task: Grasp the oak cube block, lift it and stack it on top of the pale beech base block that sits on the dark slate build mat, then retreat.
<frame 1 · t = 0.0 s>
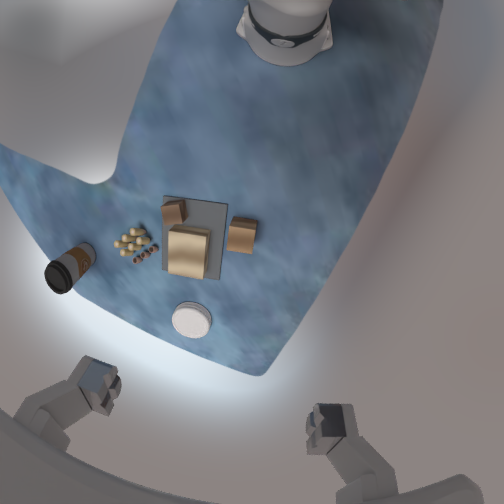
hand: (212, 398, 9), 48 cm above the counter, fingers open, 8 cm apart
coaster: (193, 315, 69), on the counter
base block: (191, 248, 60), point 1 cm above the counter, touching build mat
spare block: (177, 209, 56), point 1 cm above the counter, touching build mat
oak block: (243, 229, 58), on the counter
coffee cup: (87, 252, 64), on the counter
ammunition: (140, 241, 61), on the counter
build mat: (192, 238, 59), on the counter
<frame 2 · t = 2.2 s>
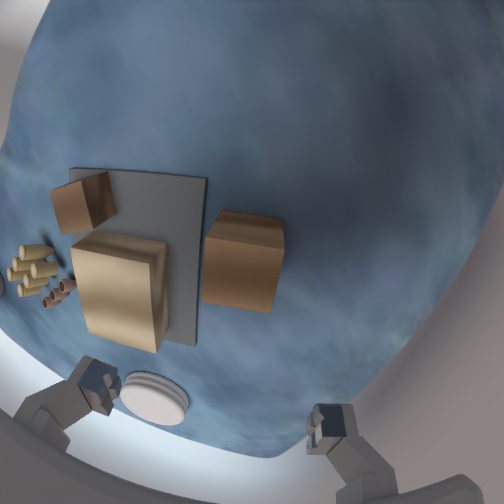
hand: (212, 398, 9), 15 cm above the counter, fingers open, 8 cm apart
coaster: (157, 390, 35), on the counter
base block: (130, 282, 25), point 1 cm above the counter, touching build mat
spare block: (95, 196, 22), point 1 cm above the counter, touching build mat
oak block: (247, 241, 23), on the counter
ammunition: (51, 267, 27), on the counter
build mat: (131, 261, 25), on the counter
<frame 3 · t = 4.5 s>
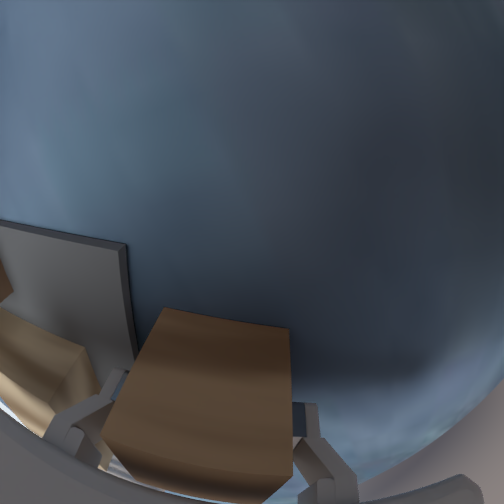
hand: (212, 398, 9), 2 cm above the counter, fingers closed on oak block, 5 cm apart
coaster: (130, 464, 23), on the counter
base block: (59, 378, 13), point 1 cm above the counter, touching build mat
oak block: (220, 360, 11), on the counter, touching gripper
build mat: (54, 354, 13), on the counter
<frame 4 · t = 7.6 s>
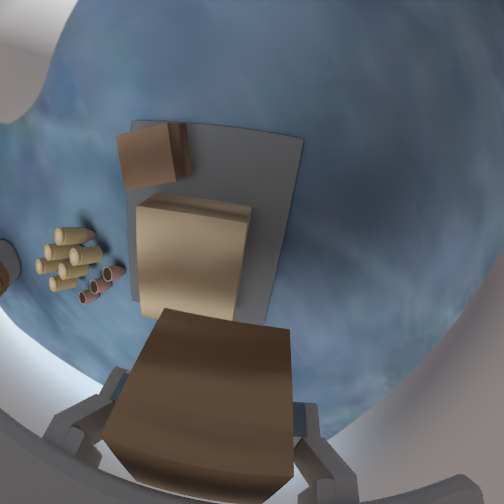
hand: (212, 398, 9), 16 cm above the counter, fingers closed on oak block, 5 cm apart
base block: (197, 253, 24), point 1 cm above the counter, touching build mat
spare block: (165, 151, 20), point 1 cm above the counter, touching build mat
oak block: (221, 361, 11), point 13 cm above the counter, touching gripper
coffee cup: (10, 257, 27), on the counter
ammunition: (90, 256, 26), on the counter
build mat: (201, 230, 23), on the counter
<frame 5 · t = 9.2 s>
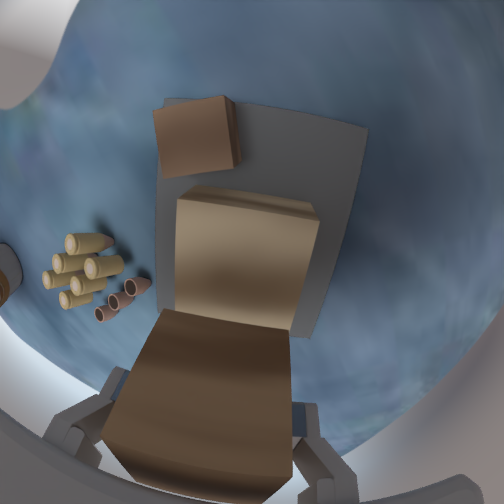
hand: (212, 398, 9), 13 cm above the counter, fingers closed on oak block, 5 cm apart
base block: (243, 257, 20), point 1 cm above the counter, touching build mat
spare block: (208, 135, 17), point 1 cm above the counter, touching build mat
oak block: (220, 361, 11), point 11 cm above the counter, touching gripper
coffee cup: (10, 263, 24), on the counter
ammunition: (107, 266, 23), on the counter
build mat: (247, 230, 20), on the counter
when the fingers open (8 cm above the counter, at t = 10.5 s): oak block drops 1 cm, resting on base block.
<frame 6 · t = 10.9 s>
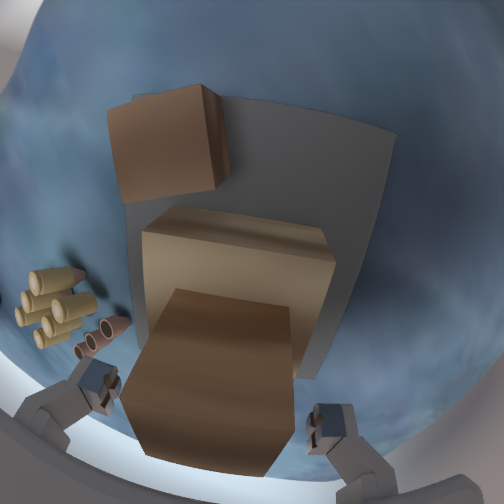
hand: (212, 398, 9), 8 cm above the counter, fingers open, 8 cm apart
base block: (234, 294, 16), point 1 cm above the counter, touching build mat, oak block
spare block: (187, 141, 13), point 1 cm above the counter, touching build mat
oak block: (226, 339, 13), point 5 cm above the counter, touching base block
ammunition: (83, 300, 19), on the counter
build mat: (240, 261, 16), on the counter
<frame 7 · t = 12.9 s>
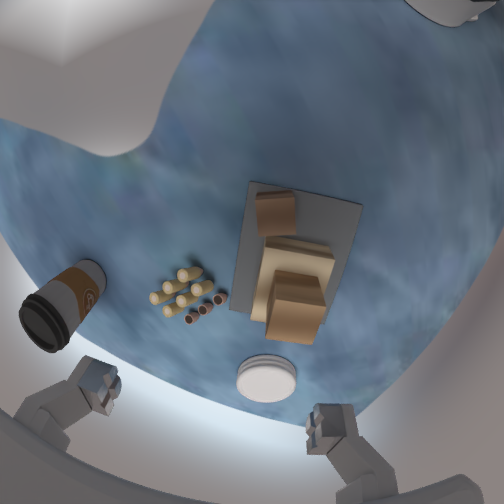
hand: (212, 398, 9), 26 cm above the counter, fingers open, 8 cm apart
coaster: (266, 371, 44), on the counter
base block: (289, 275, 35), point 1 cm above the counter, touching build mat, oak block
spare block: (275, 207, 32), point 1 cm above the counter, touching build mat
oak block: (291, 291, 32), point 5 cm above the counter, touching base block
coffee cup: (92, 275, 39), on the counter
ammunition: (194, 287, 38), on the counter
build mat: (292, 260, 35), on the counter
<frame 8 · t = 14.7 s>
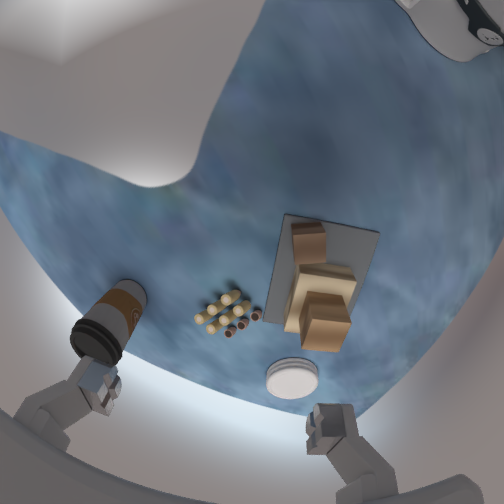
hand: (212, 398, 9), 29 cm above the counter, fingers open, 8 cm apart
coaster: (291, 372, 50), on the counter
base block: (315, 292, 40), point 1 cm above the counter, touching build mat, oak block
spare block: (306, 236, 37), point 1 cm above the counter, touching build mat
oak block: (320, 307, 37), point 5 cm above the counter, touching base block
coffee cup: (132, 293, 44), on the counter
ammunition: (231, 305, 44), on the counter
build mat: (318, 279, 40), on the counter
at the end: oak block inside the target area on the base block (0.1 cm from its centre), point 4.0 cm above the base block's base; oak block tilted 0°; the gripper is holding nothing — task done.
